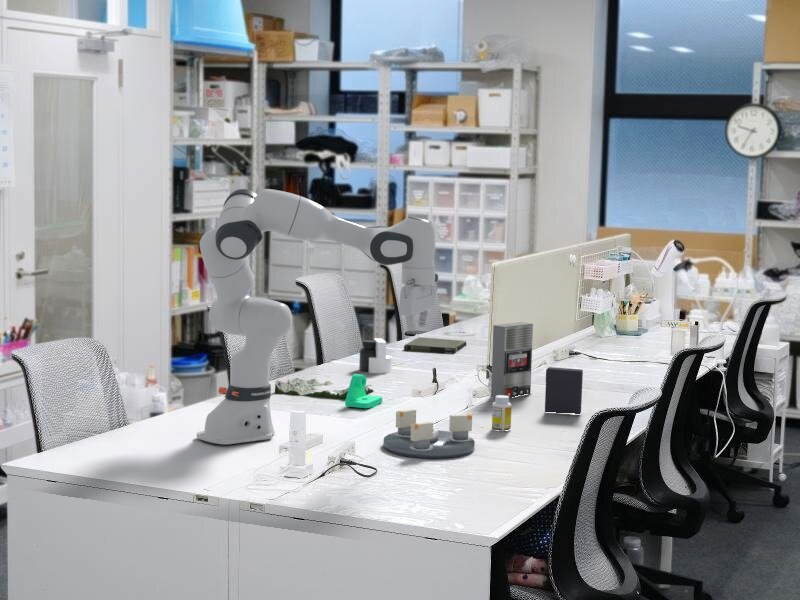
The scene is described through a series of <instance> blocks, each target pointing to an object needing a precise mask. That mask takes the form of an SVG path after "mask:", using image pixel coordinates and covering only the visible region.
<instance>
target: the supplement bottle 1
mask: <svg viewBox="0 0 800 600" xmlns="http://www.w3.org/2000/svg"><path fill="white" fill-rule="evenodd" d="M375 344H376V342H375V341H374V339H373V340H371V339H366V340H363V341H362V348H360V349H359V359H358V361H359V365H358V367H359V368H358V370H359V372H362V373H370V372H369V358H372V357H376V349H375V347H376V345H375Z"/></svg>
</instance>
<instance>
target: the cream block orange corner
mask: <svg viewBox="0 0 800 600" xmlns="http://www.w3.org/2000/svg"><path fill="white" fill-rule="evenodd" d="M413 423H417V409H414V408H410V409H405V410H398V411H397V410H396V412H395V428H397V432H398V434H400V435H411V424H413Z"/></svg>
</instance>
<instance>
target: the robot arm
mask: <svg viewBox="0 0 800 600" xmlns="http://www.w3.org/2000/svg"><path fill="white" fill-rule="evenodd" d="M265 232H275V233H279V234H280V235H284V236H287V237H290V238H293V239H296V240H302V241H308V242H315V241H319V240H320V241H321V240H322V241H323V240H328V241H329V240H330V241H334V242H336V243H339V244H343V245H346V246H348V247H352V248H355V249H357V250H359V251H361V252H362V253H364V255H366V257H368V258H369V259H370V260H371V261H373V262H375V263H377V264H379V265H382V266H386V267H387V266H393V265H397V264H401V284H402V285H404V286H402V287H401V289H400V294H399V307H398V311H399V314H400V316H405V321H406V329H407V332H414V331H415V330H416V324H415V317H416V316H415V315H416V314H417V315H418V314H419V319H418V327H422V328H424V327H426V326H427V320H428V316H429V310H431V309H433V308H434V307H435V304H436V299H437V298H436V296H437V283H438V282H439V274H438V273H437V272H436V269H435V268H436V267H435V259H434V258H435V257H434V256H435V253H436V231H435V226H434V224H433V222H431V221H430V220H428V219H427V218H426V219H425V218H421V217H416V216H407V217H405V219H403V220H401V221H399V222H397V223H395V224H394V225H391V226H385V225H377V226H364V225H361V224H357V223H354V222H351V221H349V220H345V219H342V218H340V217H338V216H336V215H334V214H333V213H331V212H330V211H329V210H328V209H327V208H326V207H324V206H322V205H321V204H319V203H318V202H315V201H313V200H311V199H309V198H306V197H304V196H302V195H299V194H295V193H292V192H287V191H283V190H278V189H270V188H265V189H262V190H261V191H259V192H258V194H257V192H255V191H252V190H251V189H246V188H240V189H236V190H234V191H232V192H231V193H230V194H229V195H228V197H227V198H226V200H225V201H224V203H223V208H222V210H221V212H220V214H219V218H218V224H217V227H214V228H212V229H210V230H209V229H208V231H205V233H204V234H203V235H202V237H201V238H200V240H199V249H200V254H201V258H202V262H203V263H204V267H205V269H206V272H207V273H208V276H209V278H210V280H211V283H212V285H213V287H214V290H215V292H216V299H214V301H213V302H212V303H211V305H210V308H209V309H208V310H209V311H208V319H209V323H210V325H211V327H212V328H213V329H215V330H216V331H219V332H222V333H224V334H226V335H233V336H240V337H241V336H242V337H245V339H246V340H245V343H244V347H243V348H242V349H240V350H238V351H236V352H234V354H232V356H231V359H230V373H229V374H230V375H229V376H230V377H229V379H230V381H229V384H228V386H227V388H226V387H223V386H220V387H218V389H217V392H218V393H219V394H221V395H224V399H223V400H222V401H220V403H219V404H217V405H216V406H215V407H214V408H213V410H211V411H210V412H209V413H208V414H207V415H206V419H205V421H204V422H205V423H204V430H201V431H198V432H196V438H197V439H199V440H201V441H205V442H207V443H212V444H218V445H232V444H233V445H234V444H240V443H249V442H256V441H263V440H265V441H266V440H270V439H273V435H275V430H274V426H273V421H272V413H271V405H270V404H271V403H270V402H271V401H270V400H271V396H272V395H271V394H272V387H271V383H270V374H271V373H270V371H271V359H272V354H273V351H274V350H275V347H276V345H277V344H278V343H279V341H280V340H281V339H283V337H285V336H286V335H287V334H288V333H289V332H290V330H291V327H292V325H293V314H292V311H291V309H290V308H289V306H288V305H287V304H285V303H282V302H280V301H276V300H273V299H268V298H266V299H265V298H256V297H255V298H254V297H251V296H250V295H248V294H249V293H250V292H251V290H252V289H253V287H254V282H255V277H254V276H255V275H254V274H253V272H252V268H251V267H250V265H249V261H248V260H247V258H246V257H248V256H249V255H250V254H251V253H253V251H254V250H255V248H256V246H258V245H259V244H260V242H261V241H262V240H263V233H265Z"/></svg>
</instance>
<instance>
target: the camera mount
mask: <svg viewBox="0 0 800 600" xmlns="http://www.w3.org/2000/svg"><path fill="white" fill-rule="evenodd" d="M365 386H367V376H366V375H365V374H359V373H358V374H357V373H353V374H352V376H351V379H350V382H349V386H348V388H349V389H348V393H347V396H346V400H344V406H345V407H351V408H353V407H354V408H359V409H362V408H363V409H369V408H370V409H374V408H375V407H377V406H379V404H381V403H383V396H378V395H370V394H368V395H366V392H365Z"/></svg>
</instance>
